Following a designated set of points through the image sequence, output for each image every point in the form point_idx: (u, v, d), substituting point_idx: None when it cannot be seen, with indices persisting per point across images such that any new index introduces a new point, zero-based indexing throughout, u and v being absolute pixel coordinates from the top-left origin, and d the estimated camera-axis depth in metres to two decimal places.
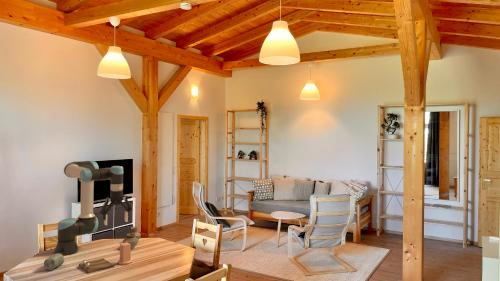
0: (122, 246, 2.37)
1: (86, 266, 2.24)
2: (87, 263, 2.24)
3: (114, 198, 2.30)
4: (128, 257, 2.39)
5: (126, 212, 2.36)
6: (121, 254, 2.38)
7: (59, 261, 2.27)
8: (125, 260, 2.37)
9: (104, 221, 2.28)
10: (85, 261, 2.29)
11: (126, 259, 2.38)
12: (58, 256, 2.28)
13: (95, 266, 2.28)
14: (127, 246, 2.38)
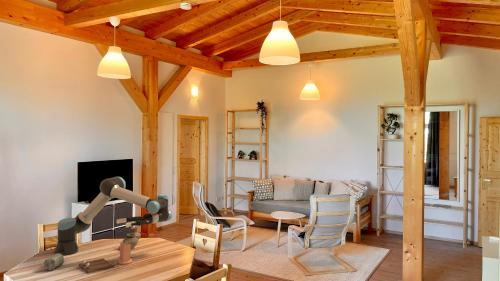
0: (122, 246, 2.37)
1: (86, 266, 2.24)
2: (87, 263, 2.24)
3: None
4: (128, 257, 2.39)
5: (125, 221, 2.46)
6: (121, 254, 2.38)
7: (59, 261, 2.27)
8: (125, 260, 2.37)
9: (129, 223, 2.34)
10: (85, 261, 2.29)
11: (126, 259, 2.38)
12: (58, 256, 2.28)
13: (95, 266, 2.28)
14: (127, 246, 2.38)
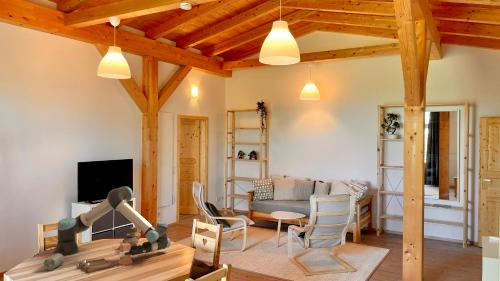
0: (122, 246, 2.37)
1: (86, 266, 2.24)
2: (87, 263, 2.24)
3: None
4: (128, 257, 2.39)
5: None
6: None
7: (59, 261, 2.27)
8: (125, 260, 2.37)
9: (122, 252, 2.35)
10: (85, 261, 2.29)
11: (126, 259, 2.38)
12: (58, 256, 2.28)
13: (95, 266, 2.28)
14: (127, 246, 2.38)
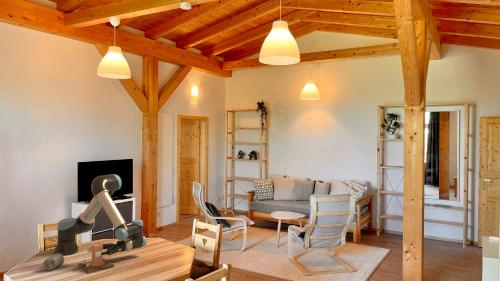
0: (94, 247, 2.29)
1: (86, 266, 2.24)
2: (87, 263, 2.24)
3: None
4: (100, 258, 2.31)
5: None
6: (93, 255, 2.30)
7: (59, 261, 2.27)
8: (97, 261, 2.29)
9: (98, 252, 2.26)
10: (85, 261, 2.29)
11: (98, 260, 2.30)
12: (58, 256, 2.28)
13: None
14: (99, 247, 2.30)
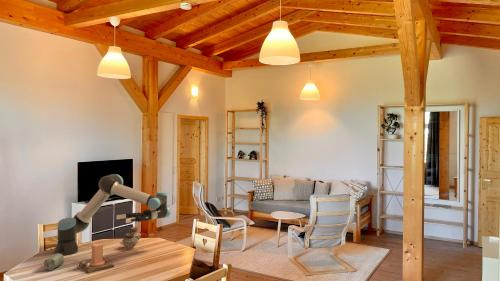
0: (94, 247, 2.29)
1: (86, 266, 2.24)
2: (87, 263, 2.24)
3: None
4: (100, 258, 2.31)
5: (125, 217, 2.52)
6: (93, 255, 2.30)
7: (59, 261, 2.27)
8: (97, 261, 2.29)
9: (129, 219, 2.40)
10: (85, 261, 2.29)
11: (98, 260, 2.30)
12: (58, 256, 2.28)
13: None
14: (99, 247, 2.30)
